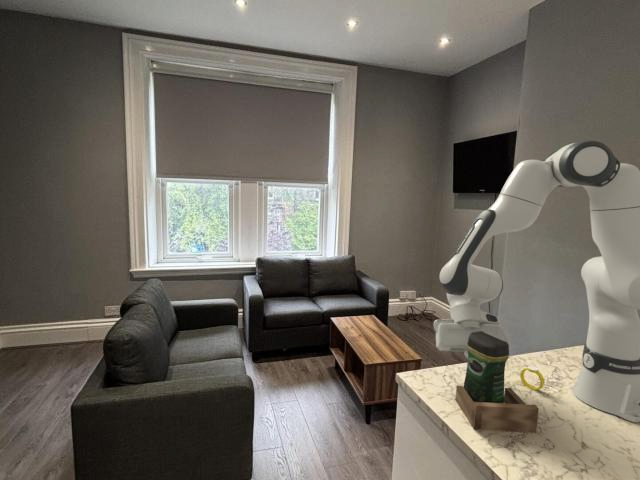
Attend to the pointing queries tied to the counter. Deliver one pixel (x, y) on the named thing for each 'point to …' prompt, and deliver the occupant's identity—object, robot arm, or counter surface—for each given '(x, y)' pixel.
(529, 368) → the watch
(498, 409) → the wooden frame
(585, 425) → the counter surface
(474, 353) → the coffee jar
